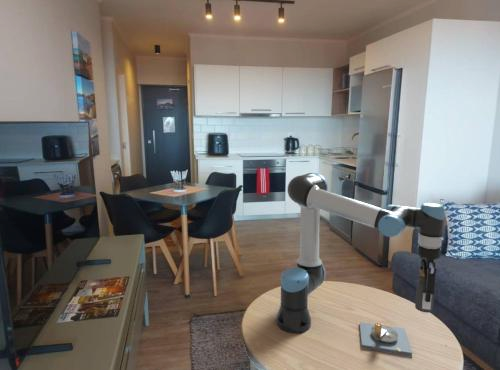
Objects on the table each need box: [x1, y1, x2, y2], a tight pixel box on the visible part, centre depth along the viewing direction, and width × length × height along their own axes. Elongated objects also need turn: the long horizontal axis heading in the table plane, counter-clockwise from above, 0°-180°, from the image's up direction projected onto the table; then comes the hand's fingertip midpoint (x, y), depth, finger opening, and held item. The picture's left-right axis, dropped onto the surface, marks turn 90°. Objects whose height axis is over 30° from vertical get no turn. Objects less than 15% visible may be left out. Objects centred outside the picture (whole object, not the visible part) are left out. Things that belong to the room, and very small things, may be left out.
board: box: [359, 321, 413, 357], centre depth 135 cm, size 18×16×2 cm
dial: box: [371, 322, 398, 344], centre depth 133 cm, size 10×12×8 cm
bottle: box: [414, 269, 435, 314], centre depth 124 cm, size 6×6×15 cm
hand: (424, 304), depth 125 cm, fingers closed on bottle, 6 cm apart
